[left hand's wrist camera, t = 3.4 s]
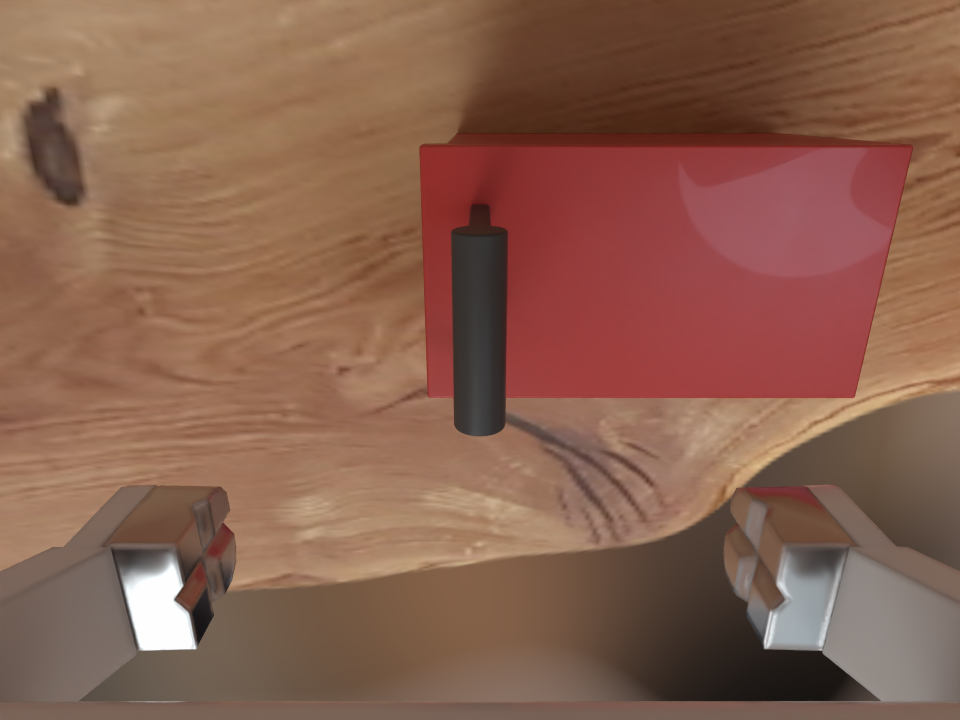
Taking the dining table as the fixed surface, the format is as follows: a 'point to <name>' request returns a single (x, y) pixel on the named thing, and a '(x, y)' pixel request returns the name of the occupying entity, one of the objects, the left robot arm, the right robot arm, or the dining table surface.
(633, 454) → the dining table surface
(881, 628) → the left robot arm
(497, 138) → the chest
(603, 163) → the lid
